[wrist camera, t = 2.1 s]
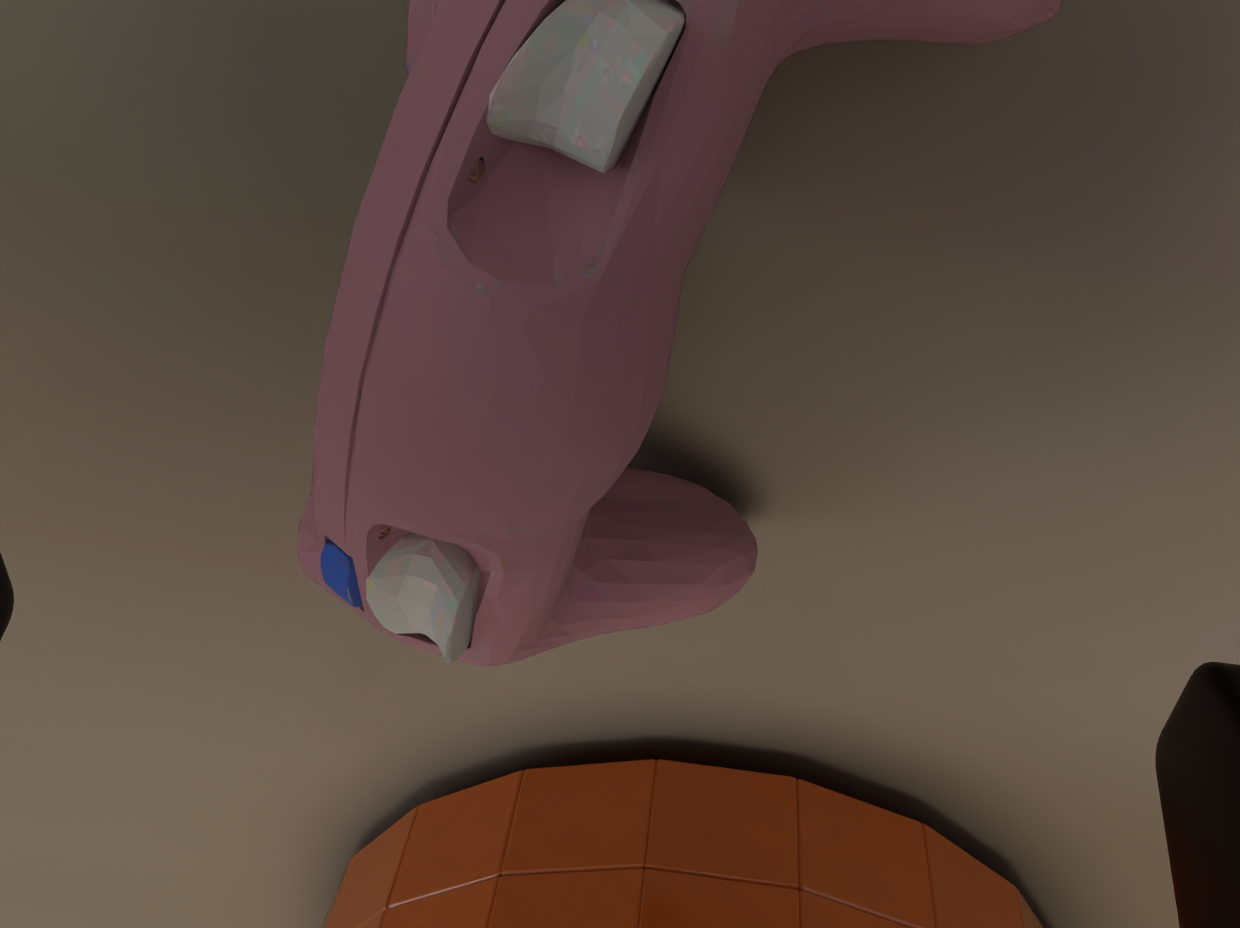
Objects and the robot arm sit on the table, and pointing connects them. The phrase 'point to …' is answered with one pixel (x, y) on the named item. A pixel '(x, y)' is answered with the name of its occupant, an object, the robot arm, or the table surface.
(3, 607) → the robot arm
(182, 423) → the table surface
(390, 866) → the orange mixing bowl
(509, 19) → the video game controller
